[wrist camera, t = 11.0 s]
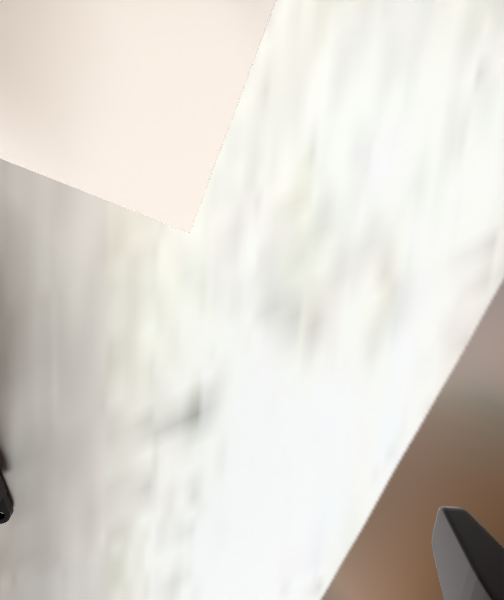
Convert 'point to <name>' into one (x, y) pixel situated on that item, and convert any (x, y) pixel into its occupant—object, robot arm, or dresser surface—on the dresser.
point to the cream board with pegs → (126, 94)
